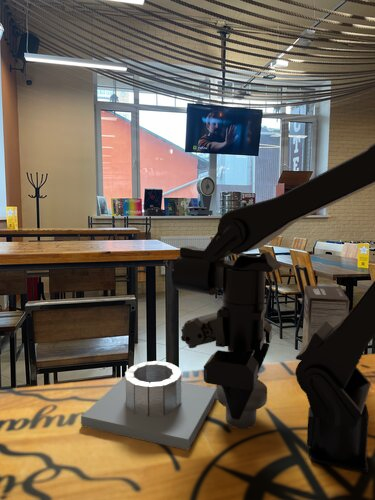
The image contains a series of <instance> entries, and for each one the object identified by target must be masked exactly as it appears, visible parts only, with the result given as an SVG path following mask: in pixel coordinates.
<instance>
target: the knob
mask: <svg viewBox="0 0 375 500" xmlns="http://www.w3.org/2000/svg"><path fill="white" fill-rule="evenodd" d="M216 388H217V393H216V396H217V397H216V400H217V402H218V403H220V405H221V406H223V407H225V422H226V423H227V424H228V425H229V426H231V427H233V428H235V429H236V428H237V429H241V430H242V429H243V430H244V429H249V428H252V427H254V426H255V425H256V424H257V410H258V409H259V410H260V409H261V408H262V407H264V406H266V404H267V402H268V388H267V386H266V384H265V383H264V382H263V381H261V380H260V379H257V382H256V385H255V387H254V389H253V391H252V393H251V396H250V398H249V400H248V402H247V404H246V406H245V409H244V411H243V413H242V415H241V417H240V419H239V420H237V419H233V418H232V417H231V414H230V411H229V407H228V404H227V400H226V397H225V394H224V391H223V388H222V386H221V385H216Z"/></svg>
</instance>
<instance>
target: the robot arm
mask: <svg viewBox="0 0 375 500" xmlns="http://www.w3.org/2000/svg"><path fill="white" fill-rule="evenodd" d="M374 185H375V142H374V143H373V144H371V145H370V146H369V147H368V148H367V149H366V150H363V151H361V152H360V153H359V154H356V155H354V156H353V157H350V158H349V159H346V160H344V161H343V162H341V163H339V164H337V165H335V166H333V167H331V168H328V169H327V170H326V171H324V172H322V173H319V174H318V175H315V176H314V177H313V178H311V179H309V180H306V181H305V182H302V183H301V184H299V185H297V186H295V187H293V188H292V189H290V190H287V191H286V192H284V193H282V194H280V195H278V196H276V197H273V198H269V199H267V200H262V201H258V202H255V203H251V204H247V205H244V206H241V207H238V208H234V209H232V210H228V211H226V212H225V213H224V214H223V215H222V216H220V218H219V221H218V225H217V232H216V234H215V235H214V236H213V238H212V239H211V240H210V242H209V244H208V245H207V246H206V248H201V247H200V248H199V247H197V246H192V245H191V246H190V245H186V246H181V247H180V248H179V255H178V257H177V258H176V260H175V262H174V264H173V269H172V270H171V281H172V285H173V286H174V288H175V290H177V291H180V292H187V293H188V292H189V293H195V294H201V295H205V296H206V295H207V296H215V295H216V294H217V293H218V292H219V290H222V305H221V307H220V308H219V309H218V310H217V311H216V312H212V313H209V314H205V315H201V316H198V317H194V318H192V319H189V320H187V321H186V322H185V323H184V324H183V326H182V327H181V337H180V339H181V341H182V342H185V344H186V345H187V346H188V348H189V349H194V348H197V346H202V345H206V344H211V343H214V342H215V347H218V348H225V347H227V350H221V349H220V350H218V349H217V350H216V351H215V352H214V353H212V355H210V357H209V358H208V359H207V361H206V363H205V364H204V366H203V381H204V382H205V384H210V385H216V386H217V385H221V386H222V388H223V391H224V394H225V397H226V400H227V404H228V407H229V411H230V414H231V417H232V418H233V419H237V420H239V419H240V417H241V415H242V413H243V411H244V409H245V406H246V404H247V402H248V400H249V398H250V396H251V393H252V391H253V389H254V387H255V385H256V382H257V379H258V378H259V375H258V374H259V372H260V369H261V367H262V365H263V362H264V360H265V358H266V356H267V353H268V351H269V349H270V344H271V341H272V338H273V326H272V325H271V324H270V323H269V321H268V320H266V319H265V314H266V312H267V303H265V294H266V293H265V291H266V290H265V289H266V273H273V272H275V271H276V270H279V269H281V267H282V265H281V263H280V262H279V261H278V260H277V259H276V258H275V257H274V256H272V253H271V252H270V251H265V252H262V253H260V255H259V256H256V255H242V254H243V253H247V252H251V251H253V250H257V249H260V248H263V247H264V246H267V244H269V243H270V242H271V241H273V240H274V239H276V238H277V237H279V236H280V235H282V234H283V233H284V232H285V231H286V230H287V229H289V228H290V227H291V226H292V225H294V224H295V223H297V222H298V221H300V220H303V219H305V218H307V217H309V216H312V215H313V214H316V213H317V212H320V211H321V210H324V209H326V208H329V207H330V206H333V205H334V204H336V203H338V202H341V201H343V200H345V199H348V198H349V197H352V196H354V195H355V194H357V193H360V192H361V191H364V190H366V189H369V188H370V187H373V186H374ZM239 254H241V255H239ZM233 255H239V256H238V257H237V258H236V259H235V260H229V259H225V258H227V257H230V256H233ZM374 338H375V279H374V280H373V281H372V283H371V284H370V285H369V287H368V288H367V289H366V291H364V293H363V294H362V296H361V297H360V299H359V300H358V301H357V302H356V303H355V305H354V306H353V307H352V309H351V310H350V311H349V312H348V315H347V317H346V318H345V319H344V320H343V321H341V322H340V323H339V324H338V325H336V326H335V327H334V328H333V327H332V326H331V325H330V324H329V323H328V322H327V321H324V323H323V324H322V325H321V326H320V327H319V328H318V330H317V331H316V332H315V333H314V334H313V336H312V338H311V340H310V341H309V342H308V343H307V345H306V346H305V347H304V348H303V349H302V348H301V350H300V351H299V353H297V355H296V356H295V359H296V360H298V361H299V362H298V364H297V366H296V367H295V372H294V375H295V376H296V381H297V384H298V385H299V386H298V387H300V389H301V391H302V392H304V393H305V395H306V399H307V401H308V404H309V407H308V415H307V432H306V433H307V434H306V446H307V447H308V448H310V451H309V452H310V454H309V455H310V456H309V460H310V461H311V462H314V463H319V464H322V465H323V464H324V465H328V466H332V467H337V468H342V469H347V470H352V471H355V472H360V473H368V471H369V462H368V458H367V450H368V449H367V447H368V434H369V433H368V432H369V419H370V418H369V417H370V415H369V411H368V406H367V403H366V401H367V398H368V395H369V392H370V388H371V386H372V383H371V382H370V381H369V379H368V378H367V377H366V376H365V375H364V373H363V372H362V371H361V370H360V369H359V368H358V364H359V362H360V360H361V359H362V356H363V355H364V352H365V351H366V348H367V346H368V345H369V344H370V342H372V340H373V339H374ZM258 380H259V379H258Z"/></svg>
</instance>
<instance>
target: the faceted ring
mask: <svg viewBox="0 0 375 500" xmlns="http://www.w3.org/2000/svg"><path fill="white" fill-rule="evenodd" d="M124 374H125V375H124V377H125V383H126V407H127V409H129V410H130V411H131V412H132V413H134V414H136V415H141V416H146V417H148V416H149V417H154V416H163V415H166V414H168V413H170V412H173V411H175V410H176V409H177V408H178V407H179V405H180V404H181V382H182V371H181V370H180V367H179V366H177V365H175V364H173V363H171V362H166V361H160V360H158V361H157V360H153V361H144V362H143V361H142V362H141V363H137V364H134V365H132V366H130V367H129V368H128V369H127V370H126V371H125V372H124Z"/></svg>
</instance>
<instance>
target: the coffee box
mask: <svg viewBox="0 0 375 500" xmlns="http://www.w3.org/2000/svg"><path fill="white" fill-rule="evenodd" d="M303 296H304V299H303V321H302V323H303V324H302V326H303V328H302V346H301V350H302V349H303V348H304V347H305V346H306V345H307V343H308V342H309V341H310V340H311V338H312V336H313V334H314V333H315V332H316V331H317V330H318V328H319V327H320V326H321V325H322V324H323V323H324V321H327V322H328V323H329V324H330V325H331V326H332V327H333V328H334V327H335V326H336V325H338V324H339V323H340V322H341V321H343V320H344V319H345V318H346V317H347V315H348V314H349V312H350V311H349V310H350V309H349V308H350V300H349V298H348V296H347V295H346V293H345V291H344V290H343V289H342V287H341V286H327V285H326V286H324V285H305V286H304V295H303Z"/></svg>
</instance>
